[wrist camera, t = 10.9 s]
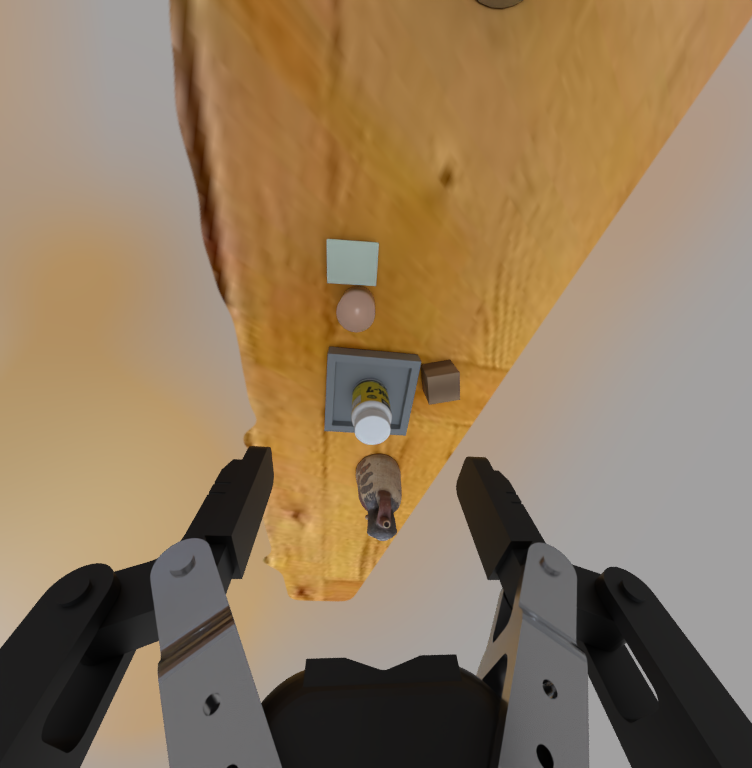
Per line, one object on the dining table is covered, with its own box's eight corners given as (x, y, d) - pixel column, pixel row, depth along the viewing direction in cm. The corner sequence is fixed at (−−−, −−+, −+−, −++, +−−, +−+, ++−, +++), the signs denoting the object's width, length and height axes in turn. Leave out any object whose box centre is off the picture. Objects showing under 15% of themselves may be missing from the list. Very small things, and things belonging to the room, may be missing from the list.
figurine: (351, 481, 47) (350, 552, 36) (362, 449, 44) (363, 517, 33) (391, 487, 48) (401, 557, 37) (404, 456, 45) (419, 524, 34)
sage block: (330, 238, 30) (326, 238, 26) (376, 242, 30) (378, 242, 27) (330, 278, 32) (327, 282, 28) (373, 280, 32) (376, 286, 29)
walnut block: (420, 364, 38) (427, 377, 34) (449, 359, 37) (459, 372, 34) (422, 389, 39) (429, 404, 36) (450, 385, 39) (459, 399, 36)
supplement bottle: (393, 387, 37) (403, 425, 30) (375, 412, 39) (379, 453, 32) (363, 371, 36) (365, 406, 29) (345, 398, 38) (343, 437, 30)
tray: (329, 346, 35) (327, 353, 33) (417, 354, 37) (421, 361, 35) (326, 420, 41) (324, 430, 39) (403, 425, 42) (405, 435, 40)
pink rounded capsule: (335, 295, 33) (329, 304, 28) (364, 279, 32) (363, 286, 27) (351, 325, 34) (348, 338, 30) (380, 310, 33) (381, 321, 29)
